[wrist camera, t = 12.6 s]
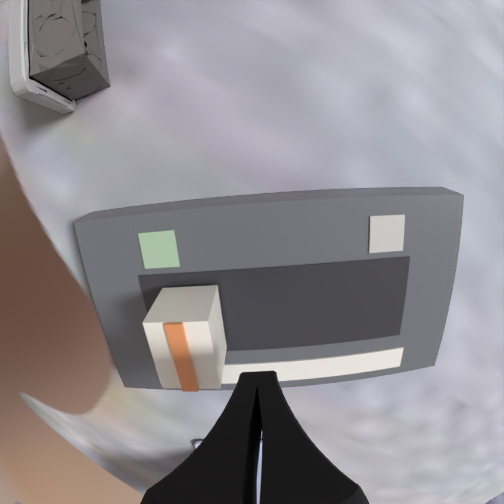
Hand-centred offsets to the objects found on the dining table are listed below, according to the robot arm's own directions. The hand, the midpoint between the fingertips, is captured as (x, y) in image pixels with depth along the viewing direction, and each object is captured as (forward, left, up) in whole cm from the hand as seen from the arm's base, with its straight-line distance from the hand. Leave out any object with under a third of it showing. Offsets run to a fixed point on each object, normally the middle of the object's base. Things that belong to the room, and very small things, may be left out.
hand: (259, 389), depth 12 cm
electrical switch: (+17, +9, -9) cm, 21 cm away
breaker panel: (0, -1, -9) cm, 9 cm away
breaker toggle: (0, +4, -6) cm, 7 cm away
